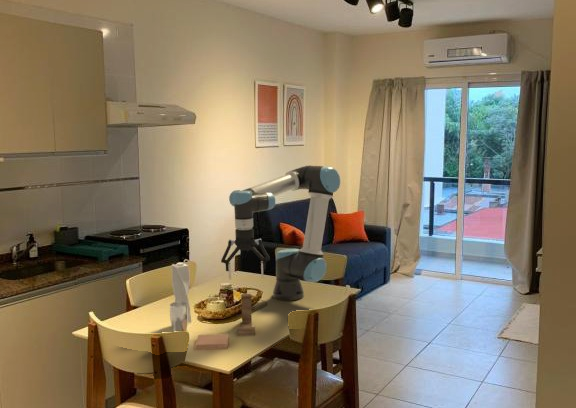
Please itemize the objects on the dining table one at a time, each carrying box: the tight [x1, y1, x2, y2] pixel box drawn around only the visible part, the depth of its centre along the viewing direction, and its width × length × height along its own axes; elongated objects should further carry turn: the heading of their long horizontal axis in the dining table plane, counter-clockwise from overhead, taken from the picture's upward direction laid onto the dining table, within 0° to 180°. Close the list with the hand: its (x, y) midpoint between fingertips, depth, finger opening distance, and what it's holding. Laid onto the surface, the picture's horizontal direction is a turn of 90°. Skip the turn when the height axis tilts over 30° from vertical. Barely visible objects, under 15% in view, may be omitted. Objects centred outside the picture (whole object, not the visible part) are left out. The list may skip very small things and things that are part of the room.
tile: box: [195, 333, 230, 350], centre depth 217 cm, size 12×2×10 cm
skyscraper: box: [171, 258, 192, 326], centre depth 237 cm, size 8×8×28 cm
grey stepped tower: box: [237, 293, 256, 337], centre depth 232 cm, size 16×7×12 cm, turn 4°
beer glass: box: [169, 301, 188, 332], centre depth 219 cm, size 7×7×15 cm
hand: (246, 277), depth 236 cm, fingers open, 13 cm apart
